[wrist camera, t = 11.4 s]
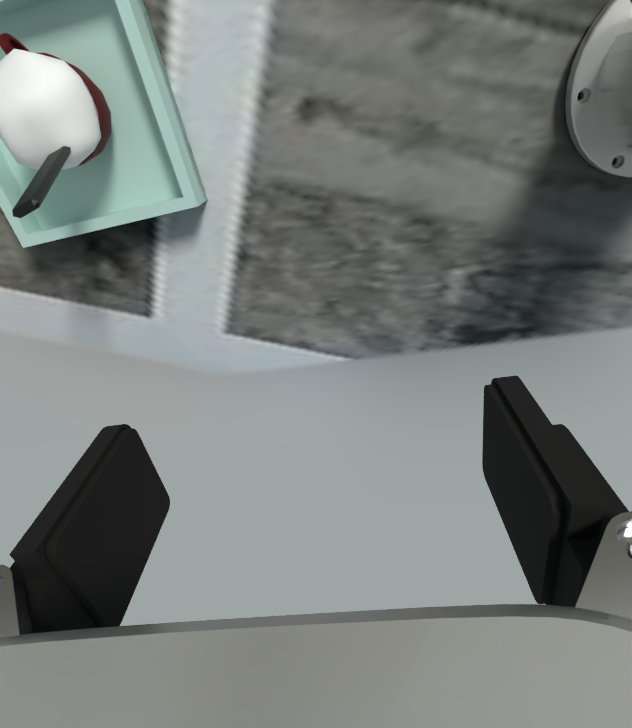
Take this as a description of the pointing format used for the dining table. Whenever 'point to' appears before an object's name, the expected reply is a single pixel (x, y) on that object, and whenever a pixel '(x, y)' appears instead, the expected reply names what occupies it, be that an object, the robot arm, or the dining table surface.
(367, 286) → the dining table surface
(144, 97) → the tray
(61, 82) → the cocoa
